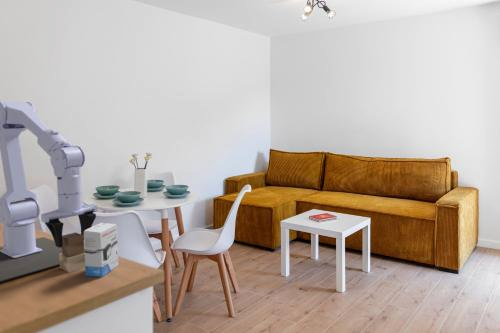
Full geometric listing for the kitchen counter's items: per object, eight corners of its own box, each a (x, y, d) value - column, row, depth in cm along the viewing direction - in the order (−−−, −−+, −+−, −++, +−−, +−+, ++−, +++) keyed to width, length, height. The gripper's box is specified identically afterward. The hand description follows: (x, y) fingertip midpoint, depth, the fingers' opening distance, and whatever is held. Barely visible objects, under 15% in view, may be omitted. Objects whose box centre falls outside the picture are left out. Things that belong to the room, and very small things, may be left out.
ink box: (102, 277, 101) (100, 232, 99) (84, 276, 102) (82, 231, 100) (119, 265, 109) (118, 223, 108) (103, 263, 110) (101, 222, 108)
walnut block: (62, 254, 106) (61, 235, 106) (76, 250, 109) (75, 232, 109) (69, 257, 104) (68, 238, 103) (84, 253, 107) (83, 235, 106)
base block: (59, 268, 107) (59, 253, 106) (77, 263, 111) (77, 249, 110) (69, 272, 104) (68, 258, 103) (87, 267, 108) (86, 253, 107)
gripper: (49, 199, 97) (52, 253, 98) (103, 190, 108) (105, 239, 110) (35, 195, 101) (39, 247, 103) (88, 187, 112) (90, 234, 114)
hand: (72, 243), depth 106 cm, fingers open, 7 cm apart
